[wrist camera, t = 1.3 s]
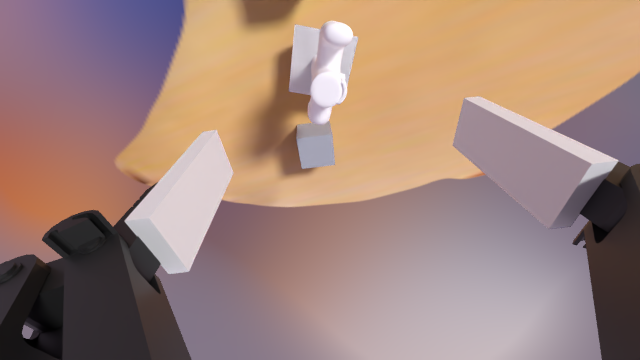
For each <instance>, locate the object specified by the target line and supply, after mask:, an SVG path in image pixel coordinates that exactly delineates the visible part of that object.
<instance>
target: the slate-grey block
mask: <svg viewBox="0 0 640 360" xmlns="http://www.w3.org/2000/svg"><path fill="white" fill-rule="evenodd" d="M296 140H297V145H298V151H299V156H300V161H301V167H302V169H305V168H313V167H321V166H329V165H335V160H334V148H333V137H332V131H331V126H330V122H329V121H328V122H327V123H326V124H323V125H316V124H314V123H307V124H300V125H297V136H296Z"/></svg>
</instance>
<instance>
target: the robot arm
mask: <svg viewBox="0 0 640 360" xmlns="http://www.w3.org/2000/svg"><path fill="white" fill-rule="evenodd" d="M453 146H454V147H455V148H456V149H457V150H458V151H460V152H461V153H462V154H463V155H464V156H465V157H466V158H468V159H469V160H470V161H471V162H472V163H473V164H474V165H476V166H477V167H478V168H479V169H480V170H481V171H482V172H484V173H485V174H486V175H487V176H488V177H489V178H491V179H492V180H493V181H494V182H495V183H496V184H497V185H499V186H500V187H501V188H502V189H503V190H505V192H507V193H508V194H509V195H510V196H511V197H512V198H513V199H515V200H516V201H517V202H518V203H519V204H520V205H521V206H523V207H524V208H525V209H526V210H527V211H529V212H530V213H531V214H532V215H533V216H534V217H535V218H536V219H538V220H539V221H540V222H541V223H542V224H543V225H545V226H546V227H547V228H548V229H556V228H565V227H571V225H572V224H573V223H574V221H575V220H576V219H577V217H578V216H579V214H581V215H583V216H584V217H586V218H587V219H588V220H589V221H588V223H587V224H586V225H585V226H584V228H583V229H582V230H581V232H580V233H579V234H578V236H577V237H576V238H575V239H574V241H573V244H574V245H577V244H578V243H579V242H580V241H583V240H585V242H586V244H585V245H584V246H583V248H586V249H587V256H588V262H589V270H590V277H591V285H592V292H593V299H594V306H595V313H596V320H597V327H598V335H599V342H600V349H601V355H602V360H640V164H636V165H633V166H631V167H629V166H627V165H625V164H622V163H620V162H618V160H616V159H614V158H612V157H610V156H608V155H605V154H603V153H601V152H599V151H597V150H594V149H592V148H590V147H588V146H586V145H583V144H581V143H579V142H577V141H575V140H573V139H571V138H568V137H566V136H564V135H562V134H559V133H558V132H555V131H553V130H551V129H549V128H547V127H545V126H542V125H540V124H538V123H536V122H534V121H531V120H529V119H527V118H525V117H523V116H521V115H518V114H516V113H514V112H512V111H510V110H508V109H505V108H503V107H501V106H499V105H497V104H495V103H492V102H490V101H488V100H486V99H484V98H481V97H479V96H477V97H469V98H464V100H463V104H462V108H461V113H460V117H459V121H458V125H457V129H456V133H455V137H454V142H453ZM232 175H233V170H232V168H231V165H230V163H229V160H228V158H227V155H226V153H225V150H224V147H223V145H222V142H221V140H220V137H219V135H218V132H217V130H213V131H205V132H202V133H201V134H200V135H199V136H198V138H197V139H196V140H195V141H194V142H193V143H192V144H191V146H190V147H189V148H188V149H187V150H186V151H185V152H184V154H183V155H182V156H181V157H180V158H179V159H178V160H177V162H176V163H175V164H174V165H173V166H172V167H171V168H170V169H169V171H168V172H167V173H166V174H165V175H164V176H163V177H162V179H161V180H160V181H159V182H157V183H156V184H154V185H153V186H152V187H150V188H149V189H147V190H146V191H145V192H144V194H143V195H142V196H141V197H140V200H137V201H136V203H134V205H133V207H131V208H130V209H129V210H128V211H127V212H126V213H125V215H124V216H123V217H122V218H121V219H120V220H119V221H118V222H117V223H116V225H115V226H114V227H112V226H111V224H110V223H109V222H108V221H107V220H106V219H105V218H104V217H103V216H102V214H101V213H100V212H99V211H96V210H90V211H84V212H81V213H78V214H75V215H73V216H71V217H69V218H67V219H65V220H63V221H61V222H60V223H58V224H56V225H55V226H53V227H52V228H51V229H50V230H49V231H48V232H47V233H46V234H45V235H44V237H43V239H42V241H44V242H45V243H46V244H47V245H48V246H50V247H51V248H52V249H53V250H54V251H56V252H57V253H58V254H59V255H60V256H62V257H63V258H61V259H58V260H55V261H52V262H49V263H46V264H45V263H44V262H43V261H42V260H40V259H39V258H38V257H36V256H35V255H24V256H20V257H17V258H15V259H12V260H10V261H6V262H4V263H2V264H0V360H191V357H190V355H189V352H188V350H187V347H186V345H185V342H184V340H183V337H182V334H181V332H180V329H179V327H178V324H177V322H176V319H175V317H174V314H173V312H172V309H171V306H170V304H169V302H168V299H167V296H166V294H165V291H164V289H163V286H162V284H161V281H160V279H159V278H158V277H157V276H156V275H155V273H156V271H157V269H158V268H159V266H160V264H161V265H162V267H163V268H164V269H165V270H166V271H167V273H168V274H172V273H181V272H189V270H190V268H191V266H192V263H193V261H194V259H195V257H196V254H197V253H198V250H199V248H200V246H201V244H202V241H203V239H204V237H205V235H206V233H207V230H208V228H209V226H210V224H211V221H212V219H213V217H214V215H215V213H216V210H217V208H218V206H219V204H220V201H221V199H222V197H223V195H224V193H225V190H226V188H227V186H228V184H229V182H230V179H231V177H232ZM23 325H26V326H28V327H30V328H32V329H33V330H34V331H33V333H32V336H31V337H30V339H25V338H23V335H22V329H23Z"/></svg>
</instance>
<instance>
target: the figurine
mask: <svg viewBox="0 0 640 360" xmlns="http://www.w3.org/2000/svg"><path fill="white" fill-rule="evenodd" d="M357 41H358V37H356V36H353V33H352V30H351V28H350V27H349V26H347V25H346V24H344V23H341V22H337V21H328V22H326V23H324V24H323V26H322V27H321V29H316V28H311V27H306V26H301V25H296V24H295V29H294V39H293V50H292V61H291V72H290V83H289V92H294V93H301V94H307V95H311V99H310V102H309V103H308V117H309V119H310V121H311V122H312V123H314V124H316V125H323V124H326V123H327V122H328V120H329V118H330V115H331V109H332V106H334V105H336V104H341V103H342V102H343V100H344V99H345V97H346V94H347V84H348V80H349V76H350V71H351V67H352V63H353V58H354V54H355V49H356V45H357Z"/></svg>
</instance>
